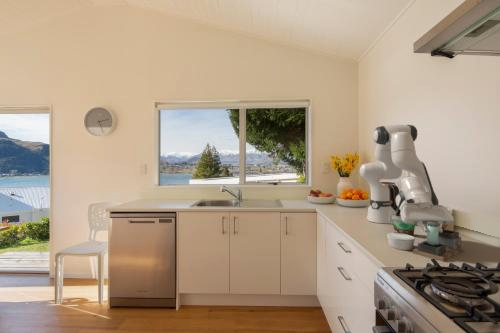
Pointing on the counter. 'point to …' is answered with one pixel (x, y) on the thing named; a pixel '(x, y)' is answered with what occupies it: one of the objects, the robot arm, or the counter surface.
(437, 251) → the dock station
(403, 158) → the robot arm
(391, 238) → the ramekin
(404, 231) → the food container
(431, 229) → the teal cylinder
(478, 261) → the counter surface
